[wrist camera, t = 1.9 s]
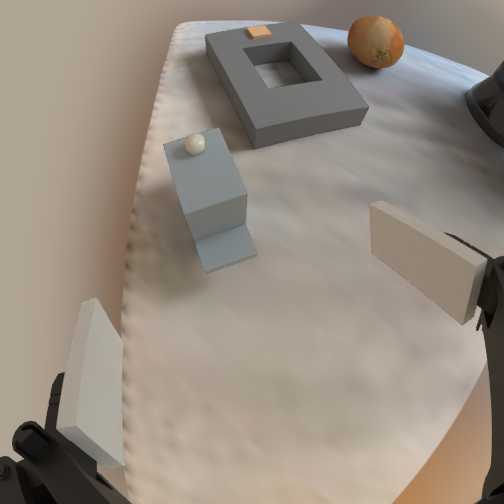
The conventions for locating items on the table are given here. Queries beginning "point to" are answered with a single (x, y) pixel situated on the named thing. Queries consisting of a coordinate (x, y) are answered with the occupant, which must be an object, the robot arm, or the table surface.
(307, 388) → the table surface
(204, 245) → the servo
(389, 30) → the onion
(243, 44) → the pocket block
